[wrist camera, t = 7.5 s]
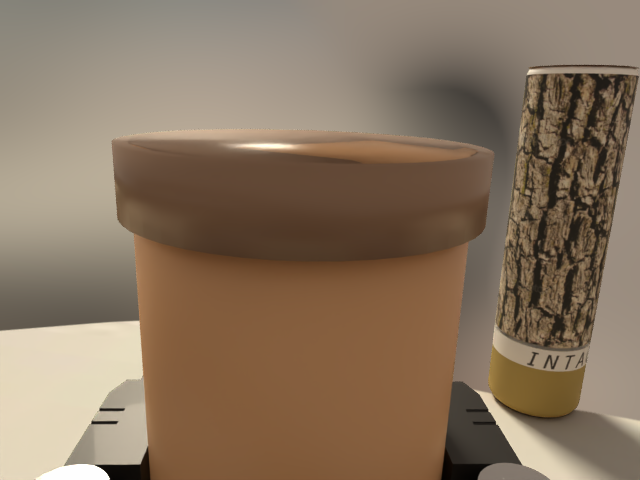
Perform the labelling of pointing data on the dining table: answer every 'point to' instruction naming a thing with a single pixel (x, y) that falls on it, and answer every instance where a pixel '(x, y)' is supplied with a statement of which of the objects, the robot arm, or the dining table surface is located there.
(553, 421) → the dining table surface
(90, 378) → the dining table surface
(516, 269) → the paper tube
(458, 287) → the capped orange cylinder
